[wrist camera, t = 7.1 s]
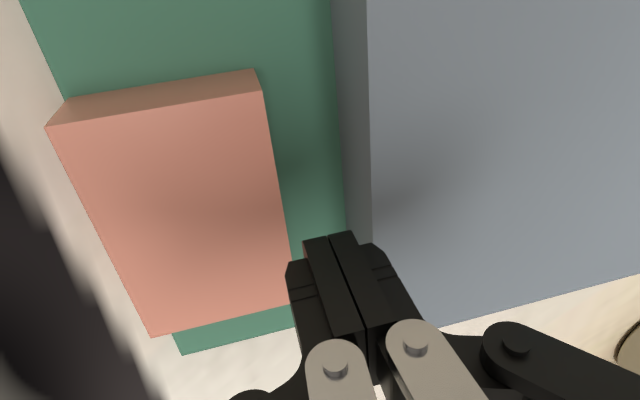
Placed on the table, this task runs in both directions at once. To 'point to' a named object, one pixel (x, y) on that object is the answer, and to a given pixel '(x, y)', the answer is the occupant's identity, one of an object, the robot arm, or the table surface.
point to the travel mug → (631, 352)
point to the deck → (491, 145)
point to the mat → (212, 58)
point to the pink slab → (181, 195)
